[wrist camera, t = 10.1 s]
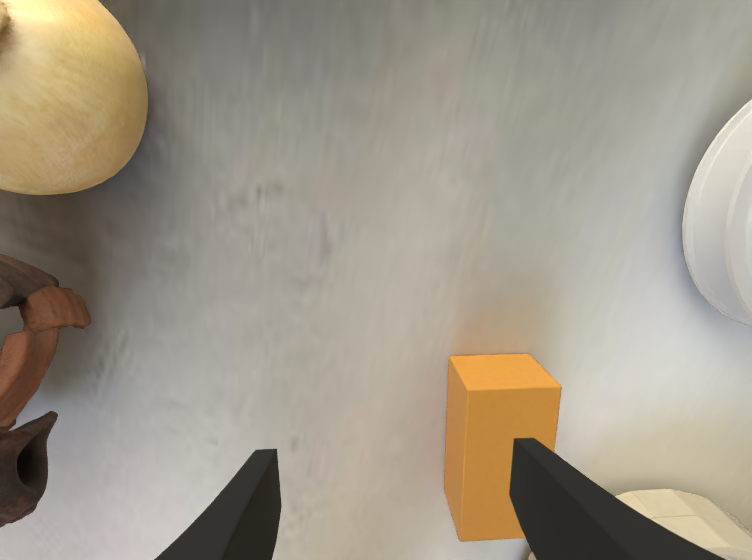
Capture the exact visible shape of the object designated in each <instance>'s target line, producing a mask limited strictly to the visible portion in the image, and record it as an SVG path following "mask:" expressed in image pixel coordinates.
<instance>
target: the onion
mask: <svg viewBox="0 0 752 560" xmlns="http://www.w3.org/2000/svg"><path fill="white" fill-rule="evenodd" d="M147 110H148V90H147V82H146V78H145V74H144V70H143V67H142V64H141V61H140V59H139V56H138V53H137V51H136V49H135V47H134V45H133V43H132V42H131V40H130V38H129V37H128V35H127V34H126V32H125V31H124V29H123V28H122V26H121V25H120V24H119V23H118V21H117V20H116V19H115V18H114V17H113V16H112V14H111V13H110V12H109V11H108V10H107V9H106V8H105V7H104V6H103V5H102V4H101V3H100V2H99V1H98V0H0V189H2V190H7V191H12V192H16V193H22V194H31V195H53V194H63V193H71V192H78V191H80V190H84V189H87V188H90V187H93V186H95V185H97V184H100V183H102V182H104V181H105V180H107V179H108V178H110V177H112V176H114V175H115V174H116V173H117V172H118V171H119V170H120V169H122V168H123V167H124V166H125V165H126V164H127V162H128V161H129V160H130V158H131V157H132V156H133V154H134V152H135V151H136V149H137V147H138V145H139V143H140V141H141V138H142V135H143V132H144V128H145V123H146V118H147Z"/></svg>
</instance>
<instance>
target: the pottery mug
mask: <svg viewBox="0 0 752 560" xmlns="http://www.w3.org/2000/svg"><path fill="white" fill-rule="evenodd" d="M13 306H18V307H19V310H20V313H21V317H22V318H23V321H24V331H23V332H18V333H14V334H10V335H8V336H6V337H5V340H4V345H3V349H2V352H1V355H0V527H2V526H4V525H5V524H7V523H13V522H15V521H18V520H20V519H22V518H23V517H25V516H27V515H29V514H30V513H32V512H33V511H34V510H35V509H36V506H37V503H38V502H39V500H40V499H41V497H42V496H43V494H44V491H45V489H46V485H47V478H48V457H47V438H48V436H49V433H50V431H51V429H52V427H53V425H54V423H55V422H56V420H57V417H58V414H57V413H56V412H53V411H50V412H48V413H47V414H45V415H43V416H41V417H40V418H38V419H35V420H32V421H30V422H28V423H25V424H24V425H22V426H20V427H18V428H16V429H14V430H12V431H8V430H9V429H10V428H12V427H13V426H14V425H15V424H16V417H17V415H18V414H19V413H20V412H21V411H22V409H23V408H24V407H25V405H26V403H27V402H28V400H29V399H30V398H31V397H32V396H33V395H34V393H35V392H36V391H37V389H38V387H39V384H40V382H41V380H42V378H43V376H44V374H45V372H46V370H47V369H48V367H49V365H50V363H51V361H52V359H53V356H54V353H55V350H56V346H57V341H58V335H59V331H58V329H59V328H64V327H69V326H73V327H77V328H81V329H84V328H86V327H87V326H88V325H90V324H91V318H90V314H89V311H88V309H87V307H86V305H85V302H84V300H83V299H82V297H81V296H79V295H78V294H75V293H74V292H73V291H72V289H66V288H60V287H59V282H58V280H57V279H56V278H55V277H53V276H52V275H49V274H47V273H45V272H44V271H42V270H40V269H38V268H36V267H34V266H31V265H29V264H26V263H24V262H22V261H20V260H17V259H14V258H12V257H9V256H6V255H3V254H0V309H4V308H8V307H13Z"/></svg>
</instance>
